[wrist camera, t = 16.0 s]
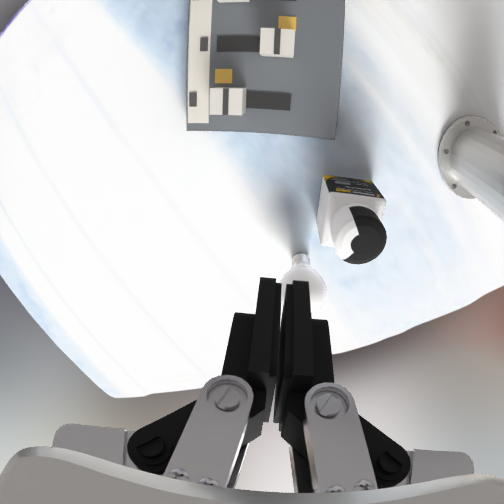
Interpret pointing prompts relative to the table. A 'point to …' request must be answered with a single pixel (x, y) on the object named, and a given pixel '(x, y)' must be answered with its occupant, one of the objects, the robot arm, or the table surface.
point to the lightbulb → (305, 273)
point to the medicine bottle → (351, 218)
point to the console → (266, 65)
